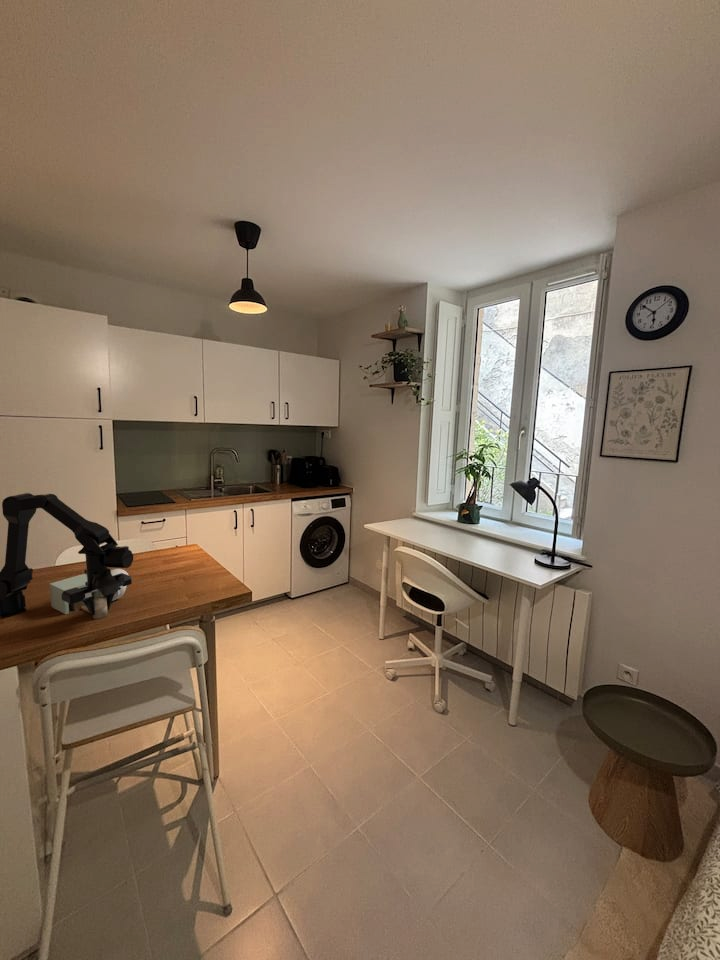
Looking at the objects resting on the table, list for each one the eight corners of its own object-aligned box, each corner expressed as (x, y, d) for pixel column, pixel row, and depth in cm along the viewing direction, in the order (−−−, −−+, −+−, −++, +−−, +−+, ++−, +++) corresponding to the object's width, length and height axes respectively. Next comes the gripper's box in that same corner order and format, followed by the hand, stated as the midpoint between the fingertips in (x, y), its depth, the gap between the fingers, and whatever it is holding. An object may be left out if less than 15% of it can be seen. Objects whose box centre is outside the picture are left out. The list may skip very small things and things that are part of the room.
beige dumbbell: (95, 620, 126) (94, 603, 125) (67, 606, 134) (66, 590, 133) (111, 614, 130) (110, 597, 129) (83, 601, 139) (82, 585, 138)
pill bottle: (105, 589, 148) (96, 606, 135) (104, 569, 147) (96, 584, 134) (129, 587, 152) (123, 603, 138) (129, 567, 151) (123, 581, 137)
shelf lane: (66, 614, 129) (64, 590, 128) (51, 607, 134) (49, 583, 133) (100, 602, 138) (99, 580, 137) (85, 595, 143) (83, 573, 142)
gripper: (78, 581, 114) (81, 632, 117) (140, 562, 131) (142, 607, 133) (58, 573, 120) (62, 621, 122) (121, 556, 136) (123, 599, 138)
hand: (100, 612), depth 129 cm, fingers closed on beige dumbbell, 4 cm apart
